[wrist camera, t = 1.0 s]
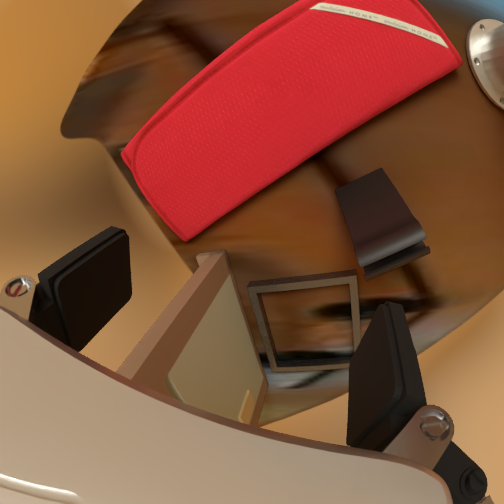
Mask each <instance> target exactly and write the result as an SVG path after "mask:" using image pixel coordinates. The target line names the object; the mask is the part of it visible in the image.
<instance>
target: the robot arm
mask: <svg viewBox="0 0 504 504" xmlns="http://www.w3.org/2000/svg"><path fill="white" fill-rule="evenodd" d="M466 51H467V57H468V61H469V65H470V67H471V70H472V73H473V75H474V77H475V79H476V81H477V83H478V84H479V86H480V87H481V89H482V91H483V92H484V93H485V94H486V96H487V97H488V98H489V99H490V100H491V101H492V102H493V103H494V104H495V105H496V106H498V107H499V108H501V109H502V110H504V23H502V22H500V21H497V20H494V19H484V20H480V21H478V22H477V23H475V24H474V25H473V26H472V27H471V28H470V30H469V32H468V35H467V38H466ZM474 61H475V62H474ZM129 251H130V250H129V236H128V235H127V234H126V231H125V230H123V229H120V228H117V227H113V226H111V227H109V228H108V229H106V230H104V231H102V232H101V233H99V234H97V235H96V236H94V237H93V238H91V239H89V240H88V241H86V242H85V243H83V244H82V245H80V246H78V247H77V248H75V249H74V250H72V251H71V252H69V253H68V254H66V255H65V256H63V257H62V258H60V259H59V260H57V261H56V262H54V263H53V264H51V265H50V266H48V267H47V268H46V269H44V270H43V271H41V272H40V273H38V278H39V281H40V282H39V283H38V284H37V285H36V281H35V280H34V278H32V277H31V276H27V275H26V276H25V275H22V276H17V277H14V278H12V279H10V280H9V281H7V282H6V283H5V284H4V286H3V288H2V290H1V293H0V504H494V503H493V501H492V499H491V497H490V495H489V496H487V497H485V493H486V490H487V478H486V476H485V473H484V472H483V470H482V469H481V468H480V467H479V466H478V465H477V464H476V463H475V462H474V461H473V460H471V459H470V458H469V457H468V456H467V455H466V454H465V453H464V452H463V451H462V450H461V449H460V448H459V447H458V446H457V445H456V444H455V443H454V442H452V441H451V439H452V437H453V434H454V424H453V421H452V419H451V417H450V415H449V414H448V413H447V412H446V411H445V410H444V409H442V408H440V407H438V406H435V405H427V403H426V397H425V392H424V387H423V382H422V377H421V372H420V368H419V364H418V359H417V355H416V351H415V348H414V346H413V342H412V338H411V334H410V331H409V327H408V323H407V320H406V316H405V313H404V309H403V306H402V305H400V304H396V303H392V302H388V301H387V302H385V303H384V305H383V304H380V305H379V306H378V308H377V310H376V312H375V314H374V316H373V318H372V320H371V322H370V324H369V326H368V328H367V330H366V332H365V334H364V336H363V338H362V339H361V341H360V343H359V345H358V347H357V349H356V351H355V352H354V354H353V356H352V358H351V360H350V364H349V400H348V423H347V438H346V443H347V445H348V446H342V445H336V444H330V443H324V442H320V441H314V440H309V439H305V438H300V437H296V436H291V435H287V434H283V433H278V432H274V431H270V430H267V429H263V428H259V427H255V426H252V425H248V424H245V423H241V422H238V421H235V420H232V419H229V418H225V417H222V416H219V415H216V414H213V413H210V412H208V411H205V410H202V409H199V408H196V407H194V406H191V405H188V404H186V403H183V402H181V401H178V400H176V399H173V398H171V397H168V396H166V395H163V394H161V393H159V392H156V391H154V390H152V389H150V388H147V387H145V386H143V385H141V384H138V383H136V382H134V381H132V380H130V379H128V378H126V377H124V376H122V375H120V374H118V373H116V372H114V371H112V370H110V369H108V368H106V367H104V366H102V365H100V364H98V363H97V362H95V361H93V360H91V359H89V358H88V357H86V356H84V355H82V354H80V353H79V351H81V350H82V349H83V348H84V347H85V346H86V345H87V344H88V342H90V340H91V339H92V338H93V337H94V336H95V335H96V334H97V333H98V332H99V331H100V330H101V329H102V328H103V327H104V326H105V325H106V324H107V323H108V322H109V321H110V319H111V318H112V317H113V316H114V315H115V314H116V313H117V312H118V311H119V310H120V309H121V308H122V307H123V306H124V305H125V304H126V303H127V302H128V301H129V300H130V298H131V296H132V283H131V269H130V252H129ZM349 446H350V447H349Z"/></svg>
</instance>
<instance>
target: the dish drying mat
mask: <svg viewBox="0 0 504 504" xmlns="http://www.w3.org/2000/svg"><path fill="white" fill-rule="evenodd" d="M462 63H463V61H462V59H461V57H460V55H459V53H458V52H457V50H456V49H455V48H454V46H453V45H452V43H451V42H450V40H449V39H448V37H447V36H446V35H445V33H444V32H443V31H442V29H441V28H440V26H439V25H438V24H437V23H436V21H435V20H434V19H433V17H432V16H431V15H430V14H429V13H428V11H427V10H426V9H425V8H424V7H423V6H422V5H421V4H420V3H419V2H418V0H299V1H298V2H296V3H294V4H293V5H291V6H289V7H288V8H286V9H285V10H283V11H281V12H280V13H278V14H277V15H275V16H274V17H272V18H270V19H269V20H267V21H266V22H264V23H262V24H261V25H259V26H258V27H256V28H255V29H253V30H252V31H250V32H249V33H248V34H246V35H245V36H244V37H243V38H241V39H240V40H239V41H237V42H236V43H235V44H233V45H232V46H231V47H230V48H228V49H227V50H226V51H225V52H223V53H222V54H221V55H220V56H218V57H217V58H216V59H215V60H214V61H212V62H211V63H210V64H209V65H208V66H206V67H205V68H204V69H203V70H202V71H201V72H199V73H198V74H197V75H196V76H195V77H193V78H192V79H191V80H190V81H189V82H188V83H186V84H185V85H184V86H183V87H182V88H181V89H180V90H179V91H177V92H176V93H175V94H174V95H173V96H172V97H171V98H170V99H169V100H168V101H167V102H166V103H165V104H164V105H163V106H162V107H161V108H160V109H159V110H158V111H157V112H156V113H155V114H154V115H153V116H152V117H151V118H150V119H149V120H148V121H147V122H146V124H145V125H144V126H143V127H142V128H141V129H140V130H139V131H138V133H137V134H136V135H135V136H134V137H133V138H132V140H131V141H130V142H129V143H128V145H127V146H126V147H125V149H124V150H123V151H122V152H121V156H122V159H123V160H124V162H125V163H126V165H127V166H128V167H129V169H130V170H131V172H132V174H133V176H134V179H135V180H136V182H137V185H138V187H139V188H140V190H141V191H142V193H143V195H144V196H145V197H146V199H147V201H148V202H149V203H150V204H151V206H152V207H153V208H154V210H155V211H156V212H157V214H158V215H159V216H160V217H161V218H162V219H163V221H164V222H165V223H166V224H167V225H168V226H169V228H170V229H171V230H172V231H173V232H174V233H175V234H176V235H177V236H178V237H179V238H180V239H182V240H183V241H185V242H187V241H189V240H190V239H191V238H193V237H195V236H196V235H198V234H199V233H201V232H202V231H203V230H205V229H206V228H207V227H208V226H210V225H211V224H212V223H214V222H215V221H217V220H218V219H220V218H221V217H222V216H224V215H225V214H227V213H228V212H230V211H231V210H233V209H234V208H236V207H237V206H239V205H240V204H242V203H243V202H245V201H246V200H248V199H249V198H250V197H252V196H253V195H255V194H256V193H258V192H259V191H261V190H262V189H264V188H265V187H267V186H268V185H270V184H271V183H273V182H274V181H276V180H277V179H279V178H280V177H282V176H283V175H285V174H286V173H288V172H289V171H291V170H292V169H294V168H295V167H297V166H298V165H300V164H301V163H302V162H304V161H305V160H307V159H309V158H310V157H312V156H313V155H315V154H316V153H318V152H319V151H321V150H322V149H324V148H325V147H327V146H329V145H330V144H332V143H333V142H335V141H336V140H338V139H339V138H341V137H343V136H344V135H346V134H348V133H349V132H351V131H352V130H354V129H356V128H357V127H359V126H360V125H362V124H364V123H365V122H367V121H368V120H370V119H372V118H373V117H375V116H377V115H378V114H380V113H382V112H383V111H385V110H387V109H388V108H390V107H392V106H393V105H395V104H397V103H399V102H400V101H402V100H404V99H405V98H407V97H409V96H410V95H412V94H413V93H415V92H417V91H418V90H420V89H422V88H423V87H425V86H427V85H429V84H430V83H432V82H434V81H436V80H438V79H439V78H441V77H443V76H445V75H446V74H448V73H450V72H451V71H453V70H455V69H456V68H458V67H459V66H461V65H462Z"/></svg>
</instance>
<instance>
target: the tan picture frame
mask: <svg viewBox="0 0 504 504" xmlns="http://www.w3.org/2000/svg"><path fill="white" fill-rule="evenodd" d="M196 258H197V261H198V264H199V268H198V269H197V270H196V272H195V273H194V274H193V275H192V277H191V278H190V279H189V280H188V281H187V283H186V284H185V285H184V287H183V288H182V289H181V290H180V291H179V292H178V294H177V295H176V296H175V297H174V299H173V300H172V301H171V302H170V304H169V305H168V306H167V307H166V309H165V310H164V311H163V312H162V314H161V315H160V316H159V318H158V319H157V320H156V321H155V322H154V324H153V325H152V326H151V327H150V329H149V330H148V331H147V333H146V334H145V335H144V336H143V338H142V339H141V340H140V341H139V343H138V344H137V345H136V347H135V348H134V349H133V350H132V352H131V353H130V354H129V356H128V357H127V358H126V359H125V361H124V362H123V363H122V365H121V366H120V367H119V369H118V370H117V371H116V373H118V374H120V375H122V376H124V377H126V378H128V379H130V380H132V381H134V382H136V383H138V384H141V385H143V386H145V387H147V388H150V389H152V390H154V391H156V392H159V393H161V394H163V395H166V396H168V397H171V398H173V399H176V400H178V401H181V402H183V403H186V404H188V405H191V406H194V407H196V408H199V409H202V410H205V411H208V412H210V413H213V414H216V415H219V416H222V417H225V418H229V419H232V420H235V421H238V422H241V423H245V424H248V425H252V426H255V427H257V424H258V420H259V417H260V413H261V410H262V406H263V402H264V399H265V395H266V392H267V388H268V382H267V379H266V376H265V373H264V370H263V367H262V363H261V360H260V357H259V354H258V351H257V348H256V345H255V342H254V339H253V336H252V333H251V329H250V326H249V323H248V320H247V317H246V314H245V311H244V307H243V304H242V301H241V298H240V295H239V291H238V288H237V285H236V282H235V278H234V275H233V272H232V269H231V265H230V262H229V259H228V255H227V252H226V250H221V251H214V252H207V253H200V254H198V255H197V256H196Z"/></svg>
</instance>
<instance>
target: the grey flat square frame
mask: <svg viewBox="0 0 504 504" xmlns="http://www.w3.org/2000/svg"><path fill="white" fill-rule="evenodd" d="M341 284H349V286H350V297H351V309H352V322H353V339H354V352H355V351H356V349H357V347H358V345H359V343H360V341H361V338H360V315H359V299H358V286H357V275H356V270H348V271H340V272H332V273H324V274H315V275H307V276H298V277H289V278H280V279H270V280H261V281H251V282H249V284H248V286H247V289H248V293H249V296H250V299H251V303H252V306H253V310H254V313H255V316H256V320H257V323H258V326H259V330H260V333H261V336H262V340H263V343H264V346H265V350H266V353H267V356H268V360H269V363H270V366H271V370H272V372H287V371H311V370H327V369H340V368H349V364H350V360H351V358H352V356H349V357H338V358H325V359H310V360H290V361H279V360H278V356H277V353H276V349H275V346H274V342H273V338H272V335H271V331H270V327H269V324H268V320H267V316H266V313H265V309H264V305H263V302H262V298H261V294H260V293H265V292H276V291H286V290H296V289H305V288H315V287H324V286H332V285H341Z"/></svg>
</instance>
